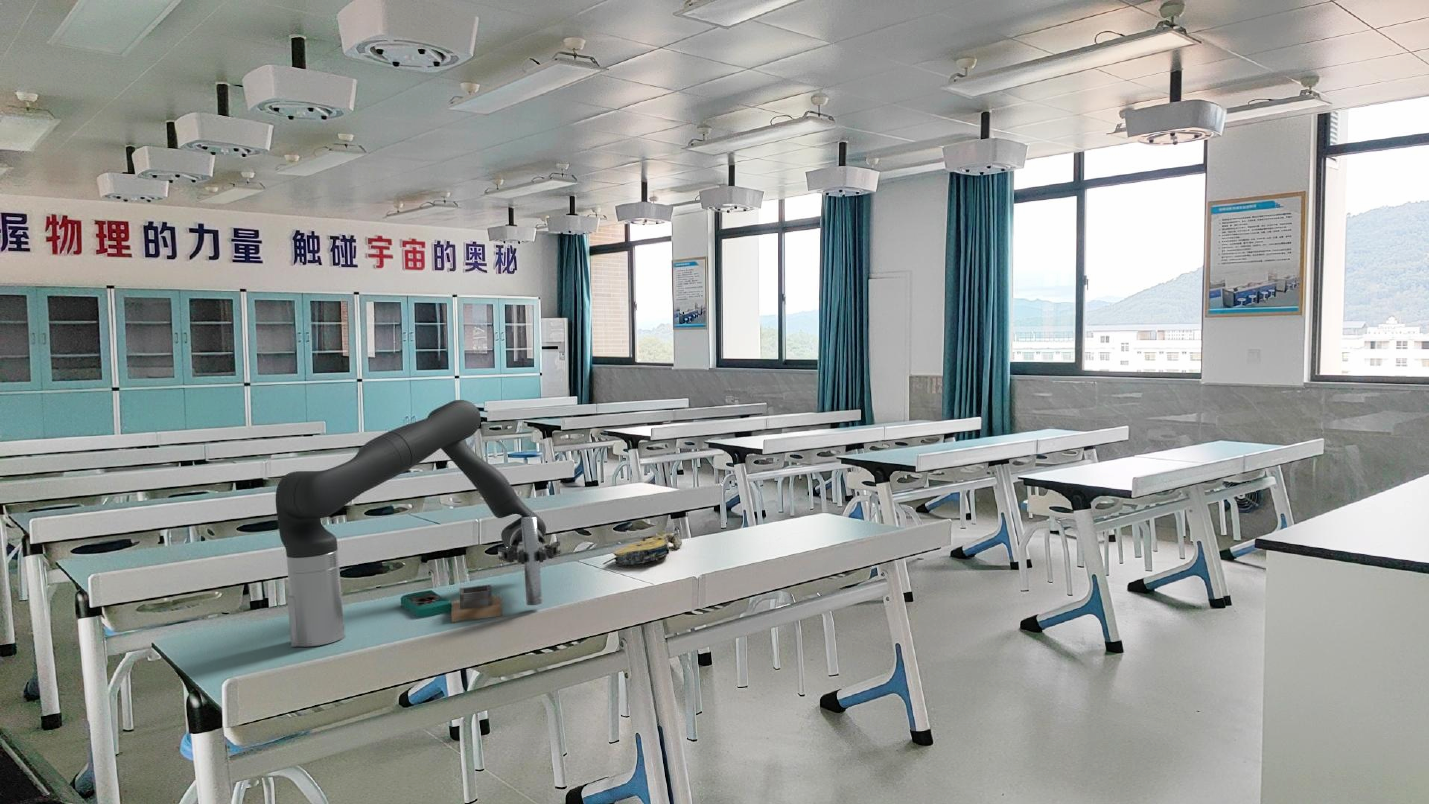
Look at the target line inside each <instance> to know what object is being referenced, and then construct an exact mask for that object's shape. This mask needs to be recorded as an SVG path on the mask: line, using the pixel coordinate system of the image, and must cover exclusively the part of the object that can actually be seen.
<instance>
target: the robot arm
mask: <svg viewBox="0 0 1429 804" xmlns="http://www.w3.org/2000/svg"><path fill="white" fill-rule="evenodd" d="M481 421H482V417H481V412H480V410H479V408H478V407H477V406H476V405H475V404H474V403H472V402H470V401H468V400H465V399H455V400H452V401H449V402H448V403H445V404H444V405H442V406H439V407H436V408H435V409H433V410H432V411H430V413H429V414H428V416H427V417H426V418H423V419H421V420H418V421H414V422H410V423H408V424H406V425H402V426H399V427H397V428H395V429H391V430H390V431H387V432H385V433H382V434H381V435H378V436H376V437H374V438H372V439H370V440H369V441H367V442H366V443H364V444H363V445H362V446H361V448H360V449H359V450H358V451H357V453H356V454H355V455H354V457H353V458H351V459H350V460H348V461H346V462H344V463H341V464H338V465H336V466H333V467H330V468H328V469H323V470H295V471H292V472H288V473H286V474H285V475H284V476H282V478H281V479H280V480H279V482H278V484H277V486H276V491H275V509H276V517H277V525H278V531H279V538H280V541H281V542H282V545H283V546H284V547H283V548H284V549H285V555H286V565H287V566H286V567H287V578H288V586H289V587H288V588H289V596H287V609H288V619H289V620H288V621H289V632H290V643H291V645H290V647H291V648H293V647H295V648H296V647H303V648H304V647H315V646H322V645H327V644H331V643H332V644H333V643H335V642H337V641H340V640H342V639H344V637H345V634H346V633H345V624H344V610H343V598H342V587H341V574H340V573H341V571H340V561H339V551H338V549H339V547H338V540H337V539H338V538H337V537H336V535H335V534H333V533H332V532H330V531H328V530H327V529H326V528H325V526H324V525H323V523H322V521H321V519H323V518H327V517H329V516H331V515H332V514H335V513H336V512H338V511H340V510H341V509H342V508H343V507H345V506H346V505H348V504H349V503H351V502H352V501H353V500H355V499H356V498H357V497H359V496H360V495H362V494H364V493H366V492H368V491H370V490H371V489H374V488H375V487H379V485H381V484H384V483H386V482H387V481H389V480H392V479H393V478H396V477H398V476H400V475H402V474H403V473H405V472H407V471H409V470H410V469H411V468H413V467H415V466H417V465H418V464H420V463H421V462H423V461H424V460H426V459H428V458H429V457H430V456H432V455H433V454H435V453H436V452H437V451H439V450H440V449H441V450H442V452H443V453H445V454H446V456H447V457H448V458H449V460H451V461H452V462H453V464H454V465H455V466H456V467H457V468H458V469H459V470H460V471H461V472H462V473H463V474H464V475H465V477H466V478H467V479H468V480H469V481H470V483H471V484H472V485H473V486H474V487H475V488H476V490H477V492H478V493H479V494H480V496H481V497H482V499H483V500H484V503H485V504H486V505H487V507H488V509H489V510H490V511H491V513H492V514H493V516H494V517H495V518H497V519H503V518H507V517H509V516H512V515H519V516H520V517H519V518H517V519H516V520H514V521H513V522H511V523H510V524H508V525H506V527H504V528H503V529H502V530H501V534H500V535H501V537H500V538H501V541H502V543H503V545H504V547H503V546H499V547H497V553H498V554H497V555H498V560H499V561H503V562H507V563H510V564H511V563H514V562H515V561H516V562H517V563H518V564H521V565H524V564H525V559H524V552H523V541H522V525H521V518H524V517H537V530H538V546H539V562H540V563H544V561H546V560H547V558H548V559H554V558H555V557H557V556H558V555H560V554H561V551H562V550H561V541H556V540H555V541H554V542H551V543H550V544H549V543H548V542H546V540H545V539H544V537H545V536H546V533H547V527H546V526H547V525H546V523H545V522H544V520H543V519H542V518H541V517H540V516H539V515H537V514H536V513H535V512H534V511H533V510H532V509H530V508H529V507H528V506H527V505H526V504H525V503H524V502H523V501H522V500H521V499H520V497H519V495H518V494H517V493H516V491H515V489H514V488H513V487H512V484H511V483H510V482H509V481H508V479H507V477H506V476H505V475H503V473H502V472H501V471H500V470H498V468H496V467H494V466H493V465H491V464H490V463H489V462H487V461H486V460H484V459H483V458H482V457H480V456H479V455H478V454H477V453H476V452H475V451H474V450H473V449H472V448H471V447H470V445H468V443H467V441H466V439H468V438H470V437H472V436H474V435H475V433H477V431H478V430H479V428H480V425H481Z"/></svg>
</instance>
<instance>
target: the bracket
mask: <svg viewBox="0 0 1429 804" xmlns="http://www.w3.org/2000/svg"><path fill="white" fill-rule="evenodd" d="M458 592H459V600H452V601H451V602H452V609H451V611H450V613H451V614H450V615H451V622H452V623H455V622H456V623H457V622H464V621H472V620H481V619H487V618H495V617H503V610H502V609H503V607H502V600H501V599H502V598H501V595H492V594H493V593H492V585H491V584H485V585H478V586H477V585H475V586H469V587H460V588H459V591H458Z"/></svg>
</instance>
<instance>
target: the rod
mask: <svg viewBox="0 0 1429 804" xmlns="http://www.w3.org/2000/svg"><path fill="white" fill-rule="evenodd" d="M520 518H521V517H520ZM521 525H522V541H523V552H524V559H525V564H523V569H524V571H523V572H524V584H525V585H524V586H525V587H524V588H525V600H526V601H525V602H526V605H527V606H538V605H541V604H543V598H542V597H543V596H542V581H541V566H540V565H541V562H540V561H539V546H538V530H537V517H524V518H521Z"/></svg>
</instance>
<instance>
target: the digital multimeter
mask: <svg viewBox="0 0 1429 804" xmlns="http://www.w3.org/2000/svg"><path fill="white" fill-rule="evenodd" d="M400 606H401V607H402V608H404V607H405V608H404V609H406V608H407V609H406V610H408V611H409V610H410V612H411V613H412V614H413V615H415V616H416V617H417V618H418V619H419V618H425V617H426V618H427V617H432V616H438V615H442V614H447V613H451V609H452V601H450V600H449V599H447V598H445V597H443V596H441V595H440V594H437V593H436V592H435V591H433V590H432V589H431V590H430V589H429V590H422V591H415V592H412V593H411V592H410V593H408V594H403V595H402V596H401V597H400Z"/></svg>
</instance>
